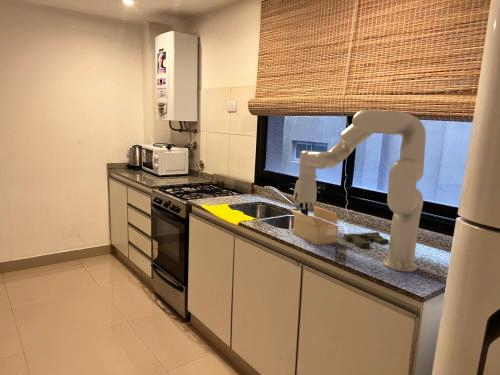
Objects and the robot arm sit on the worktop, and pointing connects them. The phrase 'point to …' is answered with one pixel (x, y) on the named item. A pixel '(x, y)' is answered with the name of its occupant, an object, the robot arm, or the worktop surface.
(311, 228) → the carton
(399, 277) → the worktop surface
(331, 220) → the back flap
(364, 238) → the firearm
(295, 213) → the front flap
